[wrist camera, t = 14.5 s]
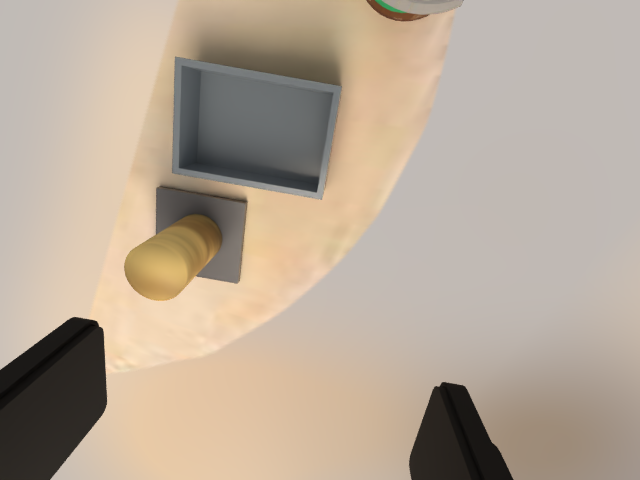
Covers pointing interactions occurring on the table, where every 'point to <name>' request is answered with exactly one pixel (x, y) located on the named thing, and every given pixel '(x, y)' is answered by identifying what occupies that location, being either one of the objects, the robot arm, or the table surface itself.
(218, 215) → the gray square plate
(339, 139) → the table surface
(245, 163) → the slate open box
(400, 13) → the food container
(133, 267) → the mustard cylinder
